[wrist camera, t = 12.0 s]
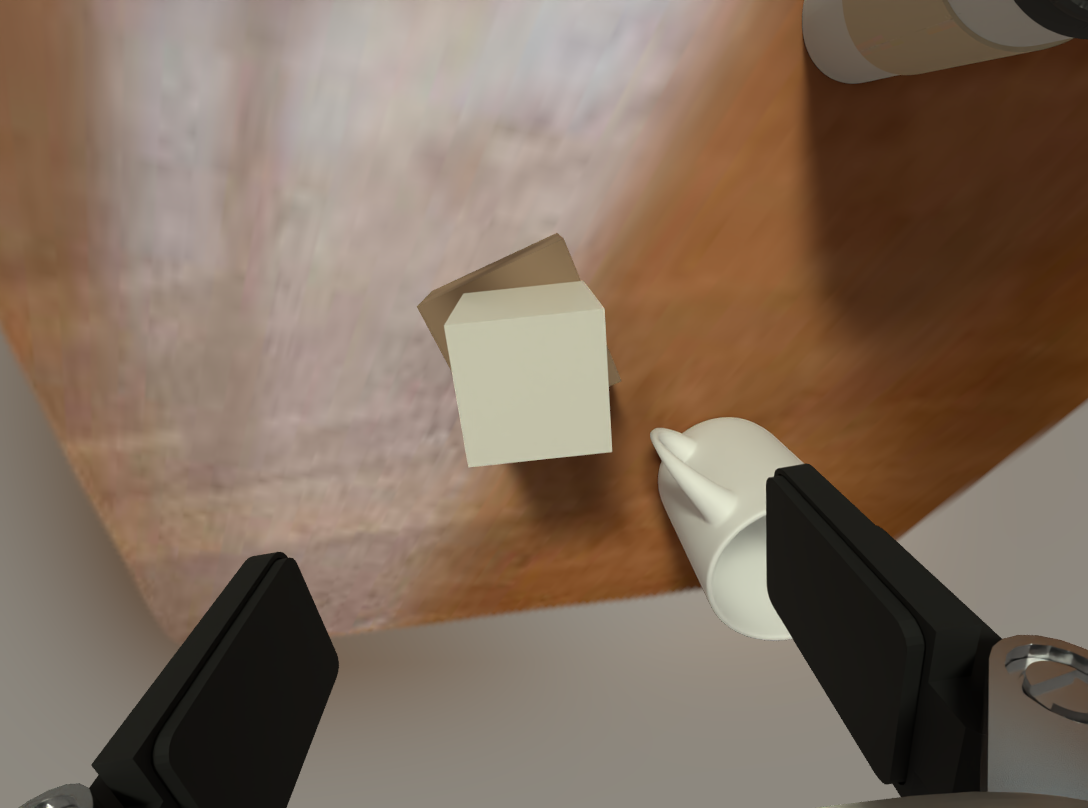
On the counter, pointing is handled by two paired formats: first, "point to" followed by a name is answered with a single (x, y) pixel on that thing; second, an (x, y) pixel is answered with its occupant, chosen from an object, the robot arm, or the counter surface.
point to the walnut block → (505, 286)
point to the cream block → (530, 373)
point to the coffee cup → (931, 33)
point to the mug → (724, 514)
